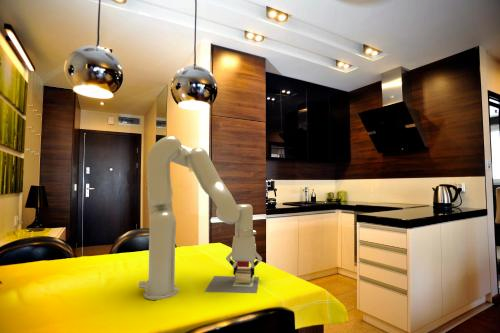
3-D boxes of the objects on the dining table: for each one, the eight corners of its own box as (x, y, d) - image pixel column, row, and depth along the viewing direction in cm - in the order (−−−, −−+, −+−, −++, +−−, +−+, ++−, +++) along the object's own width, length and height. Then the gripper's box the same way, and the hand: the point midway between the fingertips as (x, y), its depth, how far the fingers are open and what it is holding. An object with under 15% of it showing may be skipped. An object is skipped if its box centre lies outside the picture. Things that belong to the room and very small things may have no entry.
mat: (204, 292, 104) (204, 291, 104) (214, 276, 122) (214, 275, 122) (256, 294, 102) (256, 292, 102) (258, 277, 120) (258, 276, 120)
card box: (238, 275, 120) (238, 266, 120) (251, 275, 119) (251, 266, 119) (235, 282, 111) (235, 273, 111) (250, 282, 110) (250, 273, 110)
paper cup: (254, 272, 128) (254, 242, 129) (242, 276, 122) (242, 244, 123) (242, 268, 133) (242, 239, 134) (230, 272, 128) (231, 242, 129)
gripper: (264, 232, 119) (264, 274, 118) (225, 231, 121) (225, 273, 119) (263, 235, 112) (264, 280, 111) (222, 234, 113) (222, 279, 112)
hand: (243, 276), depth 115 cm, fingers closed on card box, 6 cm apart
